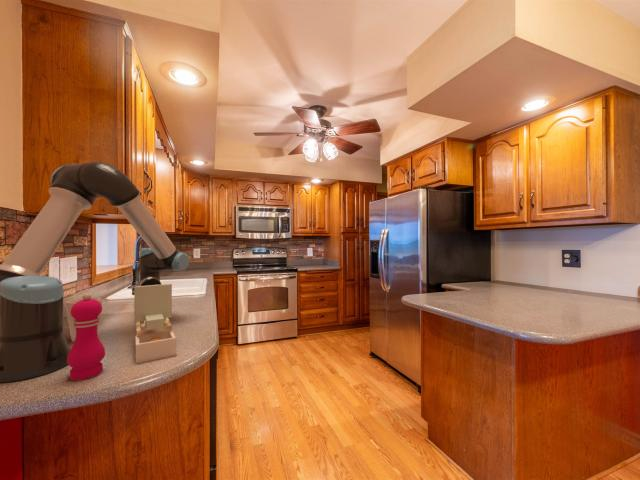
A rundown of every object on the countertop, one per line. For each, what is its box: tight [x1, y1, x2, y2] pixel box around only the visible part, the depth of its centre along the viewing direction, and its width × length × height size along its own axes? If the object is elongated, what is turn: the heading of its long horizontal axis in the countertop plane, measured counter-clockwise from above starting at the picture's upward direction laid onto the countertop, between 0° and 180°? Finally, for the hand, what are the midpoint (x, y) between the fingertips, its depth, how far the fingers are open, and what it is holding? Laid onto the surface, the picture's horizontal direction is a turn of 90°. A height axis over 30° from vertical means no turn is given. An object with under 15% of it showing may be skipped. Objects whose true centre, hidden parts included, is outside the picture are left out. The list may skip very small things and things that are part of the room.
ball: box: [149, 337, 161, 342], centre depth 83 cm, size 4×4×4 cm
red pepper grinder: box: [64, 297, 103, 343], centre depth 96 cm, size 10×9×13 cm
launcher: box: [135, 318, 173, 336], centre depth 91 cm, size 9×17×8 cm, turn 34°
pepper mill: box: [67, 292, 106, 381], centre depth 70 cm, size 7×7×20 cm
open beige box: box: [134, 329, 177, 365], centre depth 82 cm, size 10×10×5 cm
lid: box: [133, 283, 173, 330], centre depth 85 cm, size 10×8×12 cm
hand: (154, 296), depth 94 cm, fingers closed
